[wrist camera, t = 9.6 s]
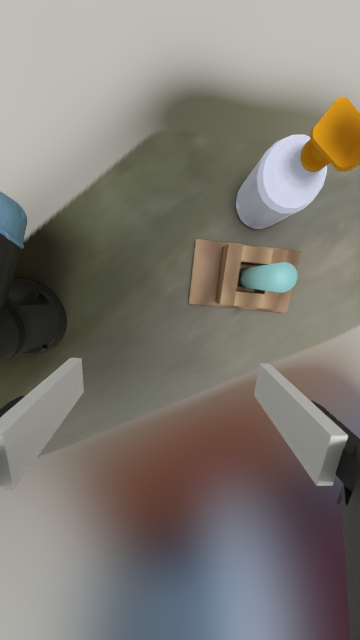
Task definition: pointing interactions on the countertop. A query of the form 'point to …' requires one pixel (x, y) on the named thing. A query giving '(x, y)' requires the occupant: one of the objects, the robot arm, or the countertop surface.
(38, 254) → the countertop surface
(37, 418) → the robot arm
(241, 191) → the soap bottle
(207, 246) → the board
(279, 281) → the peg
